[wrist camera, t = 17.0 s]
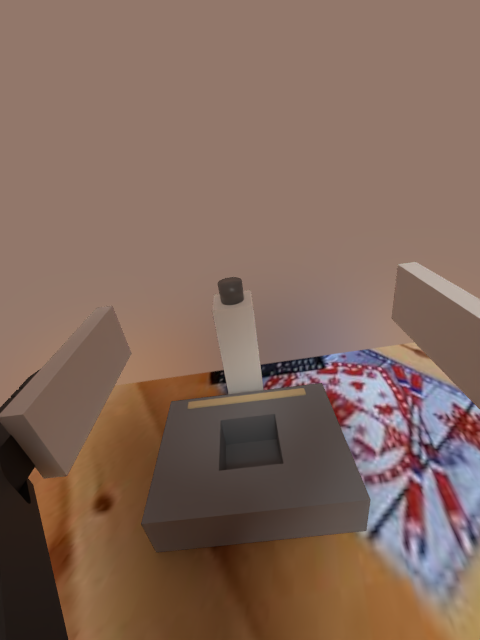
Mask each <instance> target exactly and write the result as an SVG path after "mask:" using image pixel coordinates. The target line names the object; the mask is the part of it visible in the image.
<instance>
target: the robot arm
mask: <svg viewBox="0 0 480 640" xmlns="http://www.w3.org/2000/svg"><path fill="white" fill-rule="evenodd" d="M392 319H393V320H394V321H395V322H396V324H398V326H399V327H400V328H401V329H402V330H403V331H404V332H405V333H406V334H407V335H408V336H409V337H410V338H411V339H412V340H413V341H414V342H415V343H416V344H417V345H418V346H419V347H420V348H421V349H422V350H423V351H424V352H425V353H426V354H427V355H428V356H429V358H430V359H431V360H432V361H433V362H434V363H435V364H436V365H437V366H438V367H439V368H440V369H441V370H442V371H443V372H444V373H445V374H446V375H447V376H448V377H449V378H450V379H451V380H452V381H453V382H454V383H455V384H456V385H457V386H458V387H459V388H460V389H461V390H462V391H463V393H464V394H465V395H466V396H467V397H468V398H469V399H470V400H471V401H472V402H473V403H474V404H475V405H476V406H477V407H478V408H479V409H480V299H479V298H477V297H475V296H473V295H472V294H470V293H468V292H466V291H465V290H463V289H461V288H460V287H458V286H456V285H454V284H453V283H451V282H449V281H448V280H446V279H444V278H442V277H441V276H439V275H437V274H435V273H434V272H432V271H430V270H429V269H427V268H425V267H423V266H422V265H420V264H418V263H416V262H412V263H405V264H398V268H397V276H396V285H395V293H394V302H393V310H392ZM130 355H131V351H130V348H129V346H128V343H127V341H126V339H125V336H124V333H123V331H122V328H121V326H120V323H119V321H118V318H117V316H116V314H115V311H114V308H113V306H107V307H100V308H96V309H95V310H94V312H93V313H92V314H91V315H90V316H89V317H88V318H87V319H86V320H85V321H84V322H83V324H82V325H81V326H80V327H79V328H78V329H77V330H76V331H75V332H74V333H73V334H72V336H71V337H70V338H69V339H68V340H67V341H66V342H65V343H64V344H63V345H62V347H61V348H60V349H59V350H58V351H57V352H56V353H55V354H54V355H53V356H52V357H51V359H50V360H49V361H48V362H47V363H46V364H45V365H44V366H43V367H42V368H41V369H40V370H38V371H37V372H36V373H34V374H33V375H31V376H30V377H29V378H28V379H27V380H26V381H25V382H24V383H23V384H22V385H21V386H20V387H19V390H16V391H15V392H14V394H13V395H12V396H11V398H9V399H8V400H7V401H6V402H5V403H4V404H3V405H2V406H1V407H0V640H68V636H67V632H66V627H65V623H64V619H63V614H62V610H61V605H60V601H59V597H58V592H57V588H56V583H55V579H54V575H53V570H52V566H51V561H50V557H49V553H48V548H47V544H46V539H45V535H44V530H43V526H42V522H41V517H40V513H39V508H38V504H37V500H36V495H35V491H34V486H33V484H32V483H31V481H30V480H29V479H28V477H29V475H30V474H31V472H32V470H33V469H34V467H35V468H36V469H37V470H38V471H39V473H40V474H41V475H42V477H43V478H53V477H62V476H67V475H68V473H69V471H70V469H71V467H72V466H73V464H74V462H75V460H76V458H77V456H78V454H79V452H80V450H81V448H82V446H83V445H84V443H85V441H86V439H87V437H88V435H89V433H90V431H91V429H92V427H93V426H94V424H95V422H96V420H97V418H98V416H99V414H100V412H101V410H102V408H103V407H104V405H105V403H106V401H107V399H108V397H109V395H110V393H111V391H112V389H113V388H114V386H115V384H116V382H117V380H118V378H119V376H120V374H121V372H122V370H123V368H124V367H125V365H126V363H127V361H128V359H129V357H130Z"/></svg>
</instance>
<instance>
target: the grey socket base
mask: <svg viewBox="0 0 480 640" xmlns="http://www.w3.org/2000/svg"><path fill="white" fill-rule="evenodd" d="M369 506H370V498H369V495H368V493H367V490H366V488H365V485H364V483H363V481H362V478H361V476H360V473H359V471H358V469H357V466H356V464H355V461H354V459H353V457H352V454H351V452H350V449H349V447H348V445H347V442H346V440H345V437H344V435H343V433H342V430H341V428H340V425H339V423H338V421H337V418H336V416H335V413H334V411H333V409H332V406H331V404H330V401H329V399H328V397H327V394H326V392H325V389H324V387H323V385H322V383H319V384H311V385H302V386H294V387H286V388H278V389H270V390H261V391H253V392H245V393H237V394H229V395H220V396H212V397H204V398H196V399H188V400H179V401H171V405H170V409H169V413H168V417H167V421H166V425H165V429H164V433H163V437H162V441H161V445H160V449H159V454H158V458H157V462H156V466H155V470H154V474H153V478H152V482H151V486H150V490H149V494H148V498H147V502H146V506H145V511H144V515H143V519H142V523H141V525H142V527H143V529H144V530H145V532H146V534H147V536H148V538H149V540H150V542H151V543H152V545H153V547H154V549H155V551H156V552H165V551H174V550H184V549H194V548H204V547H213V546H223V545H233V544H242V543H252V542H262V541H272V540H281V539H291V538H301V537H310V536H320V535H330V534H339V533H349V532H359V531H366V528H367V521H368V514H369Z"/></svg>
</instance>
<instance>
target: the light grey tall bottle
mask: <svg viewBox="0 0 480 640" xmlns="http://www.w3.org/2000/svg"><path fill="white" fill-rule="evenodd" d="M218 288H219V294H217V295H214V301H213V309H212V312H213V318H214V323H215V328H216V333H217V338H218V343H219V348H220V353H221V358H222V363H223V368H224V373H225V378H226V383H227V389H228V394H237V393H245V392H253V391H261V390H263V383H262V375H261V366H260V358H259V350H258V343H257V334H256V326H255V317H254V309H253V302H252V296H251V290H246V291H243V287H242V280H241V279H240V278H236V277H231V278H225V279H222V280H220V281H219V282H218Z"/></svg>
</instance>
